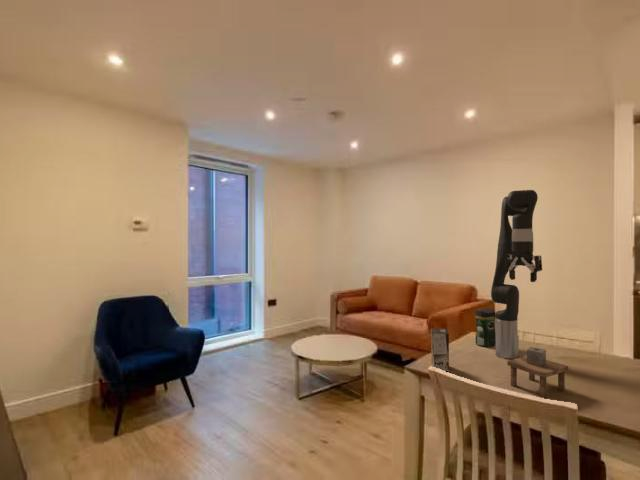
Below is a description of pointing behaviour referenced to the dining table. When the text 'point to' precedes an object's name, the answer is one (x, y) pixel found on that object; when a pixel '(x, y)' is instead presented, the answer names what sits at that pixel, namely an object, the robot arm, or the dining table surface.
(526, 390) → the dining table surface
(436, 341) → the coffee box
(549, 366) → the footstool
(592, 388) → the dining table surface
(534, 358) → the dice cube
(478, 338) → the coffee jar
